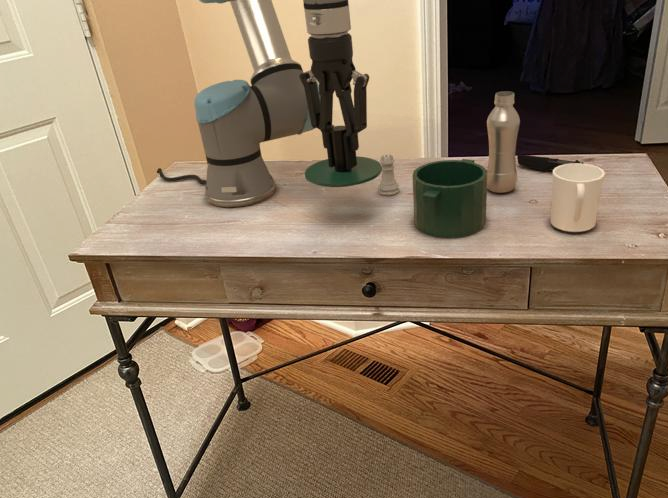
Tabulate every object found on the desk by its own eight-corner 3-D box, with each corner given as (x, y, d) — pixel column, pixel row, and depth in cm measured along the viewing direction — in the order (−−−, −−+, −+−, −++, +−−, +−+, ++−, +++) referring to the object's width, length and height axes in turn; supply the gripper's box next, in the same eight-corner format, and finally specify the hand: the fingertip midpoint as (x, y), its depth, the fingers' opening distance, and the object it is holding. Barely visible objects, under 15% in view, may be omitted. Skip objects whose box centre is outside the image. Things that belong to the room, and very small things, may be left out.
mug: (546, 214, 118) (551, 163, 112) (594, 215, 116) (601, 163, 111) (549, 240, 109) (554, 186, 103) (601, 241, 107) (609, 186, 102)
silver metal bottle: (523, 190, 128) (529, 93, 117) (498, 199, 125) (502, 100, 114) (502, 181, 133) (506, 87, 122) (478, 189, 130) (480, 94, 119)
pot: (396, 237, 114) (393, 187, 108) (437, 198, 127) (436, 152, 122) (464, 250, 108) (465, 197, 102) (500, 208, 122) (502, 159, 116)
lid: (290, 184, 115) (283, 136, 110) (331, 158, 126) (326, 113, 121) (357, 194, 109) (353, 144, 104) (395, 166, 120) (392, 119, 115)
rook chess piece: (379, 188, 134) (377, 153, 130) (400, 188, 133) (398, 152, 129) (377, 196, 130) (375, 160, 126) (398, 196, 130) (396, 160, 125)
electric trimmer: (520, 164, 142) (520, 150, 140) (587, 172, 134) (589, 158, 132) (514, 169, 139) (514, 156, 137) (582, 178, 132) (583, 164, 130)
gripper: (277, 37, 105) (296, 167, 117) (359, 39, 98) (370, 178, 110) (302, 29, 110) (318, 155, 123) (381, 31, 103) (389, 164, 116)
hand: (342, 165), depth 117 cm, fingers closed on lid, 3 cm apart
